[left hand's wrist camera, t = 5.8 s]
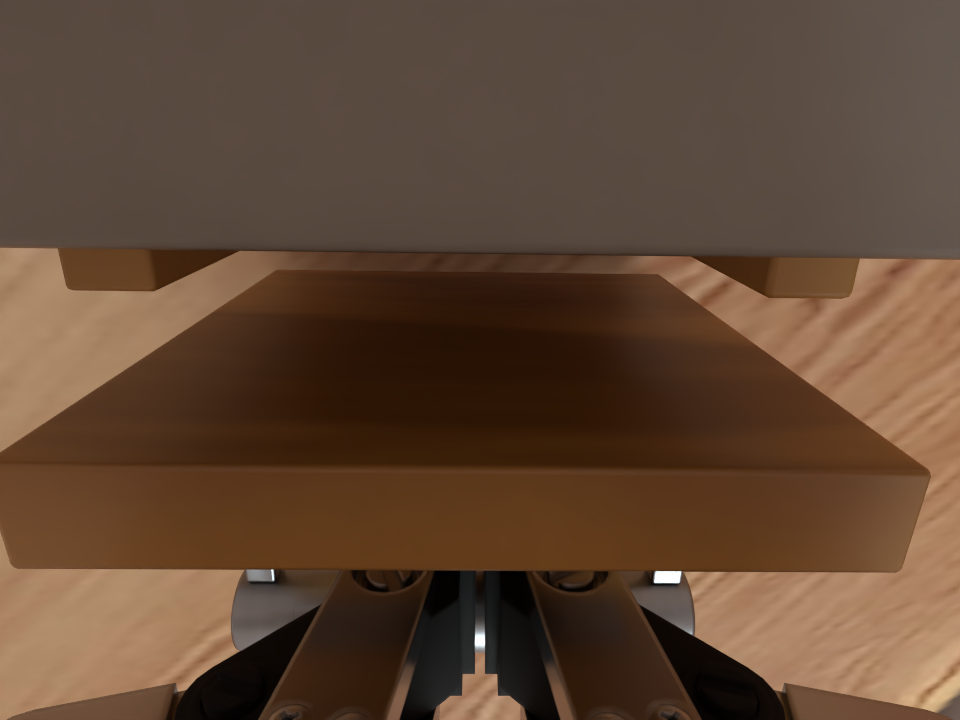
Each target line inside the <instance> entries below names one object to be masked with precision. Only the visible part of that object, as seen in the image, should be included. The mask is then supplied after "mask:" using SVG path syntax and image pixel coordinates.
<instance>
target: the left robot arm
mask: <svg viewBox="0 0 960 720" xmlns="http://www.w3.org/2000/svg"><path fill="white" fill-rule="evenodd" d="M475 595H476V571H455V570H340V571H339V573H338V575H337V577H336V579H335V581H334V582H333V584H332V586H331V588H330V590H329V591H328V593H327V595H326V597H325V599H324V601H323V602H322V604H320V605H319V606H317V607H315V608H314V609H312V610H310V611H308V612H307V613H305V614H303V615H302V616H300V617H298V618H296V619H295V620H293V621H291V622H290V623H288V624H286V625H284V626H283V627H281V628H279V629H278V630H276V631H274V632H272V633H271V634H269V635H267V636H266V637H264V638H262V639H260V640H259V641H257V642H255V643H254V644H252V645H250V646H248V647H247V648H245V649H243V650H242V651H240V652H238V653H236V654H235V655H233V656H231V657H229V658H228V659H226V660H224V661H223V662H221V663H219V664H217V665H216V666H214V667H212V668H211V669H210V670H208V671H207V672H205V673H204V674H203V675H201V676H200V677H198V678H197V679H196V680H195V681H194V682H193V683H192V685H191V686H190V687H189V688H188V689H187V690H185V691H180V692H178V690H177V686H176V683H173V684H167V685H162V686H157V687H152V688H146V689H141V690H136V691H130V692H125V693H120V694H115V695H109V696H104V697H99V698H93V699H88V700H83V701H78V702H72V703H67V704H62V705H57V706H51V707H46V708H41V709H35V710H32V711H29V712H25V713H22V714H19V715H16V716H13V717H11V718H9V719H7V720H439V716H440V706H439V705H440V704H441V703H442V702H443V701H444V700H446V699H447V698H448V697H449V696H462V674H475ZM484 602H485V674H497V676H498V696H511V697H512V698H513V699H514V700H516V701H517V702H518V703H519V704H520V705H521V706H520V716H521V720H953V719H951V718H949V717H947V716H944V715H941V714H938V713H935V712H931V711H928V710H925V709H919V708H914V707H909V706H903V705H898V704H893V703H888V702H882V701H877V700H872V699H867V698H861V697H856V696H851V695H845V694H840V693H835V692H830V691H824V690H819V689H814V688H808V687H803V686H798V685H793V684H787V683H784V686H783V690H782V692H780V691H775V690H773V689H772V688H771V687H770V686H769V685H768V683H767V682H766V681H765V680H764V679H763V678H761V677H760V676H759V675H757V674H756V673H755V672H753V671H752V670H750V669H749V668H748V667H746V666H744V665H742V664H741V663H739V662H737V661H736V660H734V659H732V658H730V657H729V656H727V655H725V654H724V653H722V652H720V651H718V650H717V649H715V648H713V647H712V646H710V645H708V644H706V643H705V642H703V641H701V640H700V639H698V638H696V637H694V636H693V635H691V634H689V633H688V632H686V631H684V630H682V629H681V628H679V627H677V626H676V625H674V624H672V623H670V622H669V621H667V620H665V619H664V618H662V617H660V616H658V615H657V614H655V613H653V612H652V611H650V610H648V609H646V608H645V607H643V606H641V605H640V604H638V602H637V601H636V599H635V597H634V595H633V593H632V591H631V590H630V588H629V586H628V584H627V582H626V581H625V579H624V577H623V575H622V573H621V571H484Z"/></svg>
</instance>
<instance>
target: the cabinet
mask: <svg viewBox="0 0 960 720" xmlns="http://www.w3.org/2000/svg"><path fill="white" fill-rule="evenodd" d="M0 248H70V249H149V250H229V251H308V252H388V253H467V254H547V255H626V256H706V257H785V258H865V259H944V260H960V0H0Z"/></svg>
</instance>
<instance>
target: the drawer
mask: <svg viewBox="0 0 960 720" xmlns="http://www.w3.org/2000/svg"><path fill="white" fill-rule="evenodd" d="M58 251H59V256H60V260H61V265H62V269H63V273H64V278H65V282H66V286H67V287H68V289H71V290H88V291H155V290H158V289H160V288H162V287H164V286H166V285H168V284H170V283H172V282H175V281H177V280H179V279H181V278H183V277H185V276H187V275H189V274H191V273H194V272H196V271H198V270H200V269H202V268H204V267H206V266H208V265H211V264H213V263H215V262H217V261H219V260H221V259H223V258H225V257H227V256H230V255H232V254H234V253H236V252H238V251H229V250H149V249H70V248H58ZM691 257H693V258H695V259H697V260H699V261H700V262H702V263H704V264H706V265H708V266H710V267H712V268H714V269H715V270H717V271H719V272H721V273H723V274H725V275H727V276H729V277H730V278H732V279H734V280H736V281H738V282H740V283H742V284H744V285H746V286H747V287H749V288H751V289H753V290H755V291H757V292H759V293H761V294H762V295H764V296H767V297H769V298H829V299H842V298H846V297H849V296H850V294H851V293H852V289H853V285H854V281H855V277H856V272H857V268H858V264H859V259H860V258H785V257H706V256H691ZM930 478H931V476H930V472H929V470H928V469H927V468H925V467H924V466H923V465H921V464H920V463H919V462H917V461H916V460H914V459H913V458H912V457H910V456H909V455H907V454H906V453H905V452H903V451H902V450H901V449H899V448H898V447H896V446H895V445H894V444H892V443H891V442H889V441H888V440H887V439H885V438H884V437H883V436H881V435H880V434H878V433H877V432H876V431H874V430H873V429H871V428H870V427H869V426H867V425H866V424H865V423H863V422H862V421H860V420H859V419H858V418H856V417H855V416H853V415H852V414H851V413H849V412H848V411H847V410H845V409H844V408H842V407H841V406H840V405H838V404H837V403H835V402H834V401H833V400H831V399H830V398H829V397H827V396H826V395H824V394H823V393H822V392H820V391H819V390H817V389H816V388H815V387H813V386H812V385H811V384H809V383H808V382H806V381H805V380H804V379H802V378H801V377H799V376H798V375H797V374H795V373H794V372H793V371H791V370H790V369H788V368H787V367H786V366H784V365H783V364H781V363H780V362H779V361H777V360H776V359H775V358H773V357H772V356H770V355H769V354H768V353H766V352H765V351H763V350H762V349H761V348H759V347H758V346H757V345H755V344H754V343H752V342H751V341H750V340H748V339H747V338H746V337H744V336H743V335H741V334H740V333H739V332H737V331H736V330H734V329H733V328H732V327H730V326H729V325H728V324H726V323H725V322H723V321H722V320H721V319H719V318H718V317H716V316H715V315H714V314H712V313H711V312H710V311H708V310H707V309H705V308H704V307H703V306H701V305H700V304H698V303H697V302H696V301H694V300H693V299H692V298H690V297H689V296H687V295H686V294H685V293H683V292H682V291H680V290H679V289H678V288H676V287H675V286H674V285H672V284H671V283H669V282H668V281H667V280H665V279H664V278H662V277H661V276H660V275H658V274H580V273H497V272H414V271H332V270H276V271H274V272H273V273H271V274H270V275H268V276H267V277H265V278H264V279H262V280H261V281H259V282H258V283H256V284H255V285H253V286H252V287H250V288H249V289H247V290H246V291H244V292H243V293H241V294H240V295H238V296H237V297H235V298H234V299H232V300H230V301H229V302H227V303H226V304H224V305H223V306H221V307H220V308H218V309H217V310H215V311H214V312H212V313H211V314H209V315H208V316H206V317H205V318H203V319H202V320H200V321H199V322H197V323H196V324H194V325H193V326H191V327H190V328H188V329H186V330H185V331H183V332H182V333H180V334H179V335H177V336H176V337H174V338H173V339H171V340H170V341H168V342H167V343H165V344H164V345H162V346H161V347H159V348H158V349H156V350H155V351H153V352H152V353H150V354H149V355H147V356H146V357H144V358H143V359H141V360H139V361H138V362H136V363H135V364H133V365H132V366H130V367H129V368H127V369H126V370H124V371H123V372H121V373H120V374H118V375H117V376H115V377H114V378H112V379H111V380H109V381H108V382H106V383H105V384H103V385H102V386H100V387H99V388H97V389H95V390H94V391H92V392H91V393H89V394H88V395H86V396H85V397H83V398H82V399H80V400H79V401H77V402H76V403H74V404H73V405H71V406H70V407H68V408H67V409H65V410H64V411H62V412H61V413H59V414H58V415H56V416H55V417H53V418H51V419H50V420H48V421H47V422H45V423H44V424H42V425H41V426H39V427H38V428H36V429H35V430H33V431H32V432H30V433H29V434H27V435H26V436H24V437H23V438H21V439H20V440H18V441H17V442H15V443H14V444H12V445H11V446H9V447H8V448H6V449H4V450H3V451H1V452H0V531H1V534H2V538H3V541H4V544H5V547H6V550H7V554H8V557H9V560H10V563H11V565H12V566H13V567H15V568H17V569H229V570H244V572H243V574H242V576H241V578H240V580H239V582H238V585H237V588H236V592H235V596H234V600H233V606H232V614H231V633H232V640H233V643H234V646H235V648H236V649H237V650H239V651H242V650H243V649H245V648H247V647H248V646H250V645H252V644H254V643H255V642H257V641H259V640H260V639H262V638H264V637H266V636H267V635H269V634H271V633H272V632H274V631H276V630H278V629H279V628H281V627H283V626H284V625H286V624H288V623H290V622H291V621H293V620H295V619H296V618H298V617H300V616H302V615H303V614H305V613H307V612H308V611H310V610H312V609H314V608H315V607H317V606H319V605H320V604H322V602H323V601H324V599H325V597H326V595H327V593H328V591H329V590H330V588H331V586H332V584H333V582H334V581H335V579H336V577H337V575H338V573H339V571H340V570H455V571H476V595H475V653H485V602H484V571H621V573H622V575H623V577H624V579H625V581H626V582H627V584H628V586H629V588H630V590H631V591H632V593H633V595H634V597H635V599H636V601H637V602H638V604H640V605H641V606H643V607H645V608H646V609H648V610H650V611H652V612H653V613H655V614H657V615H658V616H660V617H662V618H664V619H665V620H667V621H669V622H670V623H672V624H674V625H676V626H677V627H679V628H681V629H682V630H684V631H686V632H688V633H689V634H691V635H693V636H694V633H695V612H694V604H693V598H692V594H691V590H690V587H689V584H688V581H687V579H686V576H685V574H684V573H683V572H898V571H900V570H901V569H902V566H903V563H904V560H905V557H906V554H907V550H908V547H909V544H910V541H911V538H912V535H913V531H914V528H915V525H916V522H917V519H918V516H919V512H920V509H921V506H922V503H923V500H924V497H925V493H926V490H927V487H928V484H929V481H930Z"/></svg>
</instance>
